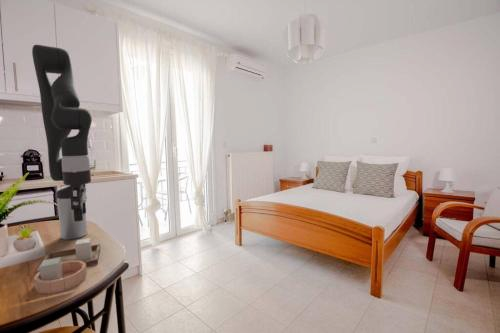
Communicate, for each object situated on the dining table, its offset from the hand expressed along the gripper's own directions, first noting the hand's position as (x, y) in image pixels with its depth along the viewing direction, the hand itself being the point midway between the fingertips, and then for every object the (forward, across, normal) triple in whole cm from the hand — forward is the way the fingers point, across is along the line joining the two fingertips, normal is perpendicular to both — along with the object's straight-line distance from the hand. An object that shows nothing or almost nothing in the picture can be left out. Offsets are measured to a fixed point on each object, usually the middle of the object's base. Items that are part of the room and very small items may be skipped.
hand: (80, 217), depth 83 cm
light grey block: (+14, +13, -6) cm, 20 cm away
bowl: (+15, +13, -4) cm, 20 cm away
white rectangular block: (+14, 0, 0) cm, 15 cm away
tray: (+15, 0, -3) cm, 15 cm away
